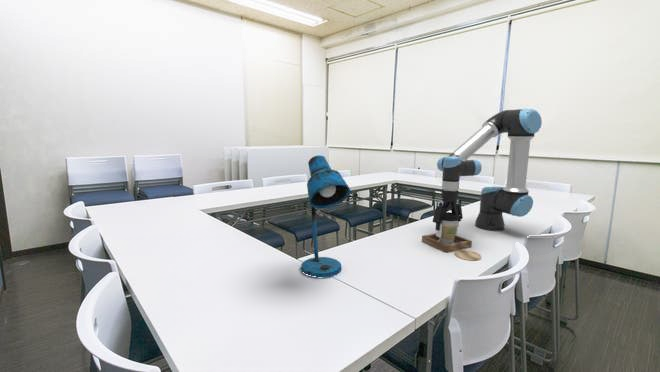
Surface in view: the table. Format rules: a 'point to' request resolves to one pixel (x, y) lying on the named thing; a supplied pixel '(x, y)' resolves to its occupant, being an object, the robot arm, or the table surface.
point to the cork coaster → (468, 255)
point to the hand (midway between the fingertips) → (446, 235)
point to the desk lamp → (323, 193)
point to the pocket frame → (431, 240)
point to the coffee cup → (449, 228)
